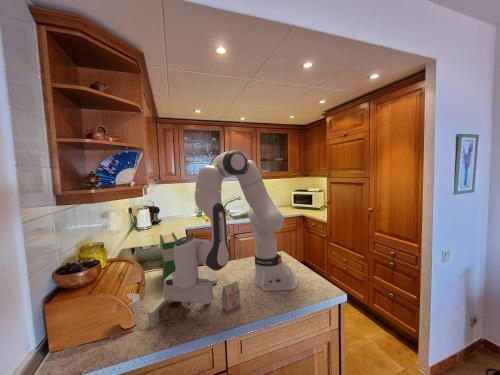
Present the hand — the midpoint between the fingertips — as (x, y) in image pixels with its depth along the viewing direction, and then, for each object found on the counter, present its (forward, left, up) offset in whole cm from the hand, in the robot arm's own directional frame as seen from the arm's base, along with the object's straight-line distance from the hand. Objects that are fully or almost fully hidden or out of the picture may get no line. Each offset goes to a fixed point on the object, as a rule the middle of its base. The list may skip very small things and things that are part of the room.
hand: (189, 311), depth 87 cm
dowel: (-4, -8, -2) cm, 9 cm away
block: (+6, 0, -2) cm, 7 cm away
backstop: (+12, 0, -2) cm, 12 cm away
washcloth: (+6, -29, -3) cm, 30 cm away
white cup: (+22, +7, -2) cm, 23 cm away
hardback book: (+23, -25, -2) cm, 34 cm away
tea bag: (-15, -8, -2) cm, 17 cm away
